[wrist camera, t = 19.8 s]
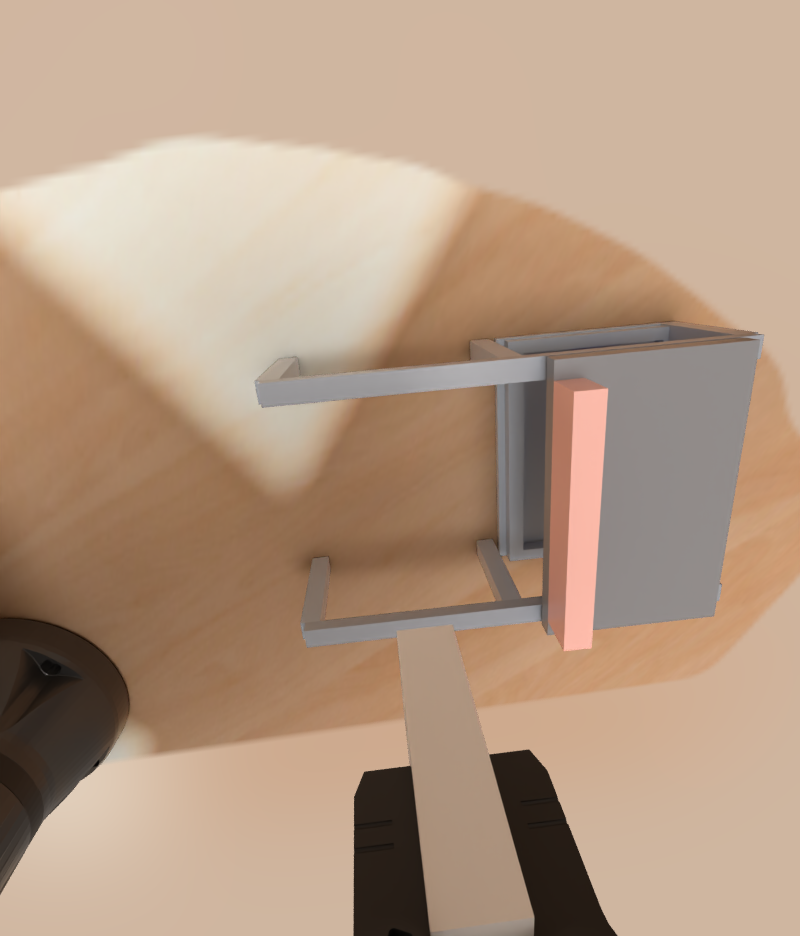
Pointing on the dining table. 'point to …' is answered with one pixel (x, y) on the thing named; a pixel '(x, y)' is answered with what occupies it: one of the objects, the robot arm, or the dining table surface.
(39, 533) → the dining table surface
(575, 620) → the lid
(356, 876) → the robot arm
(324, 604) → the grey frame rack
